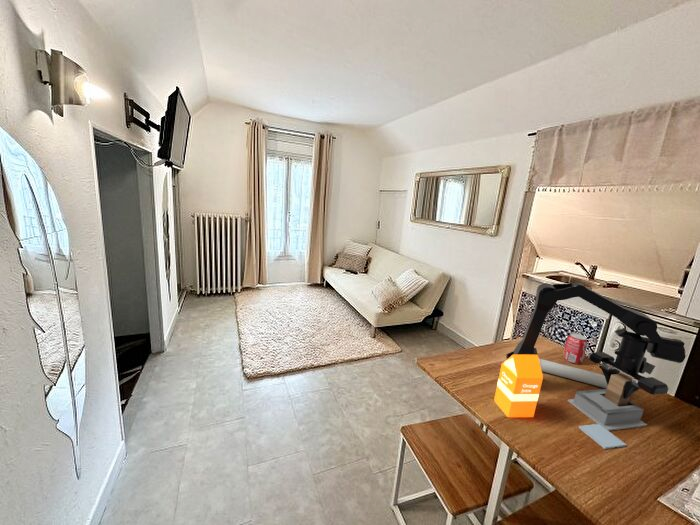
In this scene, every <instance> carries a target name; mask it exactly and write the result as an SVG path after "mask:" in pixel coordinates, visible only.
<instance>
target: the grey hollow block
mask: <svg viewBox="0 0 700 525" xmlns="http://www.w3.org/2000/svg"><path fill="white" fill-rule="evenodd" d="M606 390H607V389H606V388H600V389H598V388H597V389H589V390H579V391H576V392H575V396H574V398H569V399H567V402H568V403H570V404H571V405H572V406H574V407H575V408H576V409H578V410H579V411H580V412H581V413H583V414H584V415H585V416H587V417H588V418H589V419H590V420H592V421H593V422H595V424H600V425H601V426H603V427H604V428H605V429H607V430H608V431H609V432H610V431H612V432H613V431H618V430H620V431H621V430H626V429H628V430H629V429H634V428H643V427H647V426H648V424H647V423H645V421H642V420H641V419H642V416H643V413H644V410H645V409H644V408H642V407H641V406H639V405H638V404H636V403H634V402H633V401H631V400H630V399H629V400H628V403H627V406H621V407H619V406H617V405H616V404H614V403H613V402H611V401H610V400H608V399H607V398H605V397H604V396H605V393H606Z"/></svg>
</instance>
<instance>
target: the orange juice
mask: <svg viewBox="0 0 700 525" xmlns="http://www.w3.org/2000/svg"><path fill="white" fill-rule="evenodd" d="M539 358H540V357H539V356H538V355H512V356H511V357H510V358H508V359H507V360H506V359H505V361H503V362H502V363H501V366H500V369H499V373H498V375H499V376H498V379H497V384H496V390H495V393H494V394H495V395H494V400H493V401H494V403H495V404H496V405H497V406H498V408H499V409H500V410H501V411H502V412H503V413H504V414H505V416H506V417H507V418H534V416H535V411H536V408H537V403H538V401H539V396H540V391H541V388H542V383H543V379H544V376H543V372H542V371H541V367H540V362H539Z"/></svg>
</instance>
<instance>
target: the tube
mask: <svg viewBox="0 0 700 525" xmlns="http://www.w3.org/2000/svg"><path fill="white" fill-rule="evenodd" d="M538 358H539V362H540V367H541V371H542V373H546V374H550V375H553V376H558V377H561V378H565V379H569V380H573V381H577V382H580V383H583V384H587V385H591V386H595V387H599V388H601V389H607V387H608V385H607V382H606V379H605V376H604V374H601V373H598V372H593V371H591V370H586V369H582V368H577V367H574V366H570V365H566V364H562V363H558V362H554V361H552V360H548V359H547V360H546V359H542V358H540V357H538Z"/></svg>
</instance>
